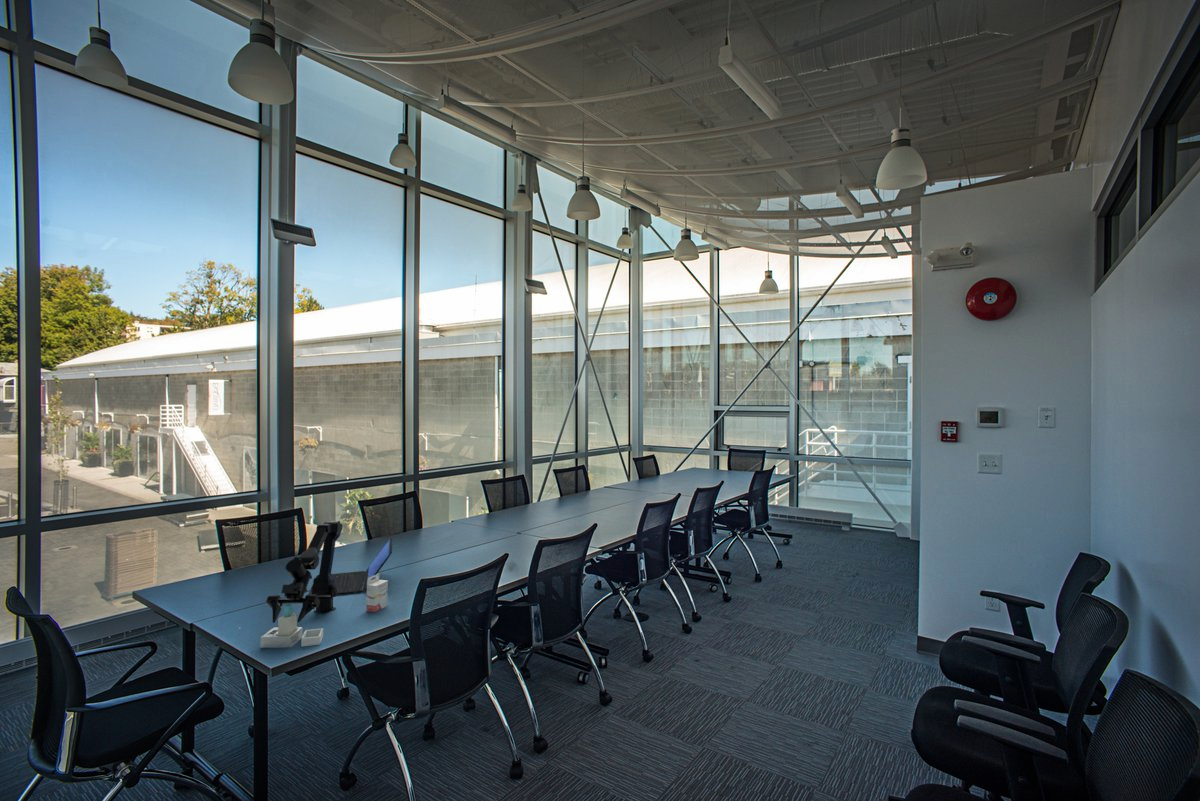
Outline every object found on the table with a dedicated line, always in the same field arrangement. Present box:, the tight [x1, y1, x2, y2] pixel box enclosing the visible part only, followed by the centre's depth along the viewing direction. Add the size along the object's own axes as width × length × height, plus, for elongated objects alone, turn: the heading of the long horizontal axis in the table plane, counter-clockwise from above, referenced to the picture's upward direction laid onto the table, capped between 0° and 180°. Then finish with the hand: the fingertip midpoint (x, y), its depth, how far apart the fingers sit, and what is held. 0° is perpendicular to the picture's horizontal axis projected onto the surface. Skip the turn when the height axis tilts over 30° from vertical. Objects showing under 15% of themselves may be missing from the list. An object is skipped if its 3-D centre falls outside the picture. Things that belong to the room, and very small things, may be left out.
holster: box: [300, 627, 324, 647], centre depth 221 cm, size 6×8×3 cm
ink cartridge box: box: [365, 572, 389, 613], centre depth 256 cm, size 9×5×15 cm, turn 163°
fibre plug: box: [277, 603, 298, 636], centre depth 220 cm, size 4×6×14 cm, turn 3°
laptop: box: [307, 536, 393, 596], centre depth 289 cm, size 33×38×19 cm
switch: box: [260, 626, 304, 649], centre depth 220 cm, size 11×9×4 cm
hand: (285, 622), depth 219 cm, fingers open, 9 cm apart
